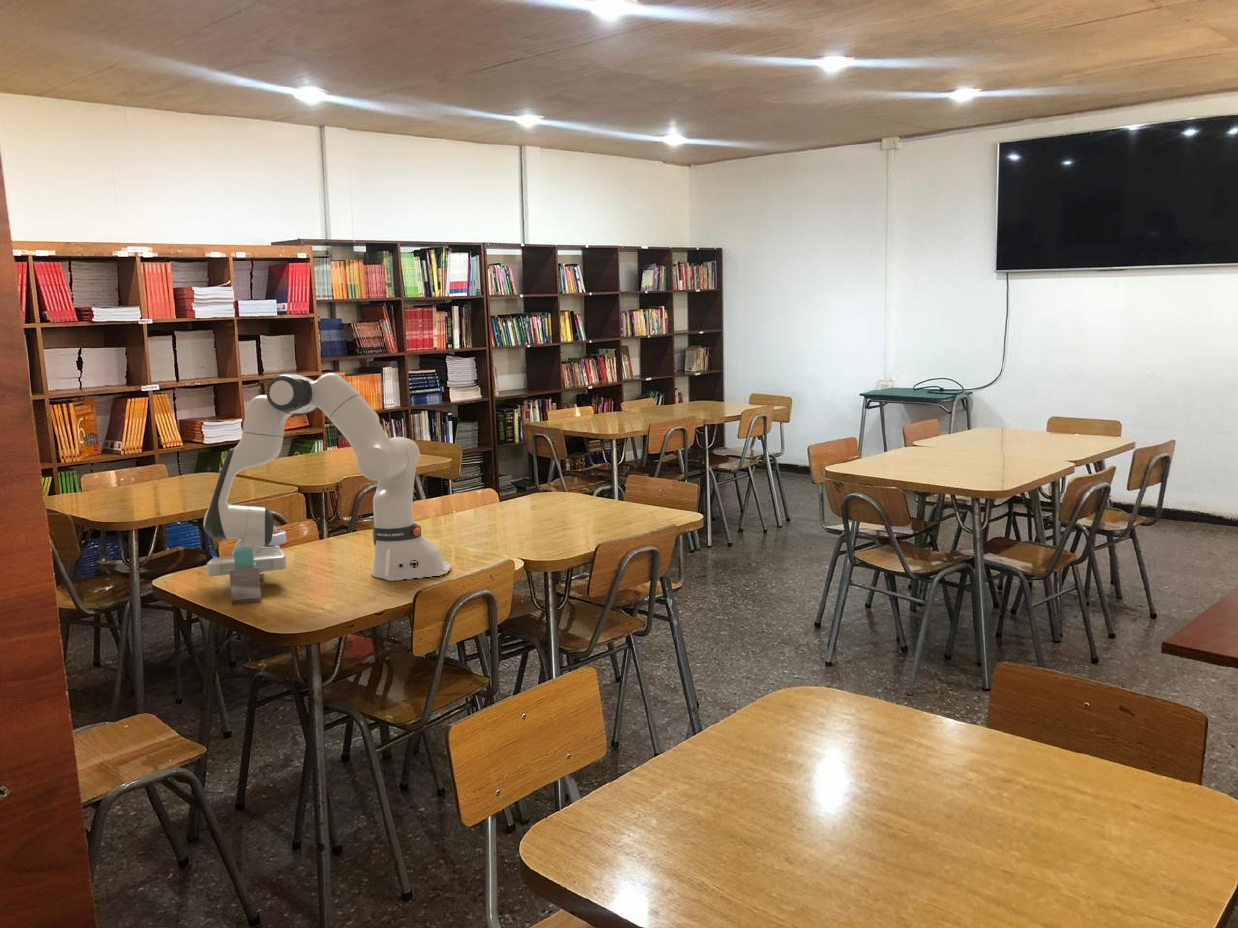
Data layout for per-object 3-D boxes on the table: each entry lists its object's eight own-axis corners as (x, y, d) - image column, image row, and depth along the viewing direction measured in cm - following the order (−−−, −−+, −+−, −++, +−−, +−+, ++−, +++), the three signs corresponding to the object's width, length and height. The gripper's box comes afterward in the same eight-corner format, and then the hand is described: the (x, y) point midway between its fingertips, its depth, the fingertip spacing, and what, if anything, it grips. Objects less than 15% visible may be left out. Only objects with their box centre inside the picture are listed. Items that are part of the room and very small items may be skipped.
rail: (237, 580, 269) (235, 549, 268) (263, 577, 272) (261, 547, 270) (232, 604, 245) (229, 571, 244) (260, 601, 247) (258, 568, 246)
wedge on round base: (249, 541, 320) (263, 547, 310) (247, 521, 319) (262, 527, 309) (275, 537, 326) (290, 543, 316) (274, 518, 325) (289, 523, 315)
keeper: (238, 591, 252) (234, 547, 250) (256, 589, 253) (252, 546, 252) (237, 596, 248) (233, 551, 246) (255, 594, 249) (252, 549, 247)
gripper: (207, 551, 261) (202, 563, 248) (285, 544, 268) (284, 555, 255) (209, 574, 262) (204, 586, 249) (286, 566, 269) (286, 578, 256)
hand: (245, 570), depth 252 cm, fingers closed, pressing on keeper
